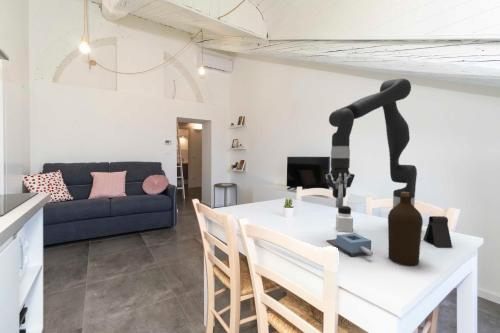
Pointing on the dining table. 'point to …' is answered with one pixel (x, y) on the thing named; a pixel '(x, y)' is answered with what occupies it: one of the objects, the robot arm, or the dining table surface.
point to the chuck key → (340, 194)
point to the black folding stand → (438, 232)
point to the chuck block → (354, 245)
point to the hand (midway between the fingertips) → (339, 197)
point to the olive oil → (404, 232)
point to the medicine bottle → (344, 219)
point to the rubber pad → (332, 242)
